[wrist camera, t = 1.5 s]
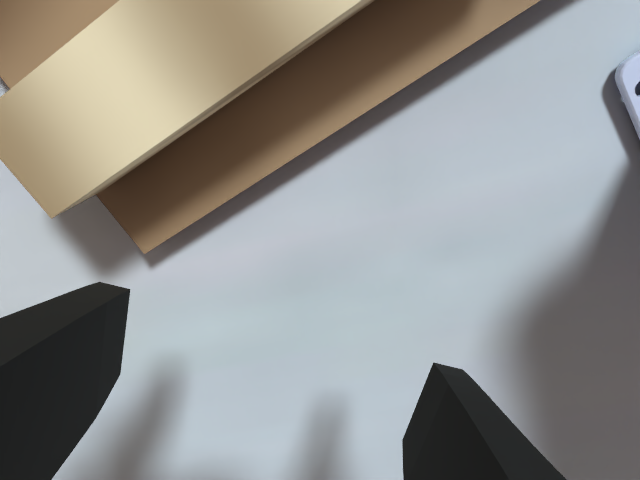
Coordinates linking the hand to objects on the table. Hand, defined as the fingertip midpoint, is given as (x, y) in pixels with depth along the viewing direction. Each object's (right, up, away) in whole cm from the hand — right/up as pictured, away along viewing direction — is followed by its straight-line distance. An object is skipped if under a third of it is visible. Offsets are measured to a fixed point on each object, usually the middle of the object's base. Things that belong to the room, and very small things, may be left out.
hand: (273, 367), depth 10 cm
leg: (-1, +9, +4) cm, 10 cm away
